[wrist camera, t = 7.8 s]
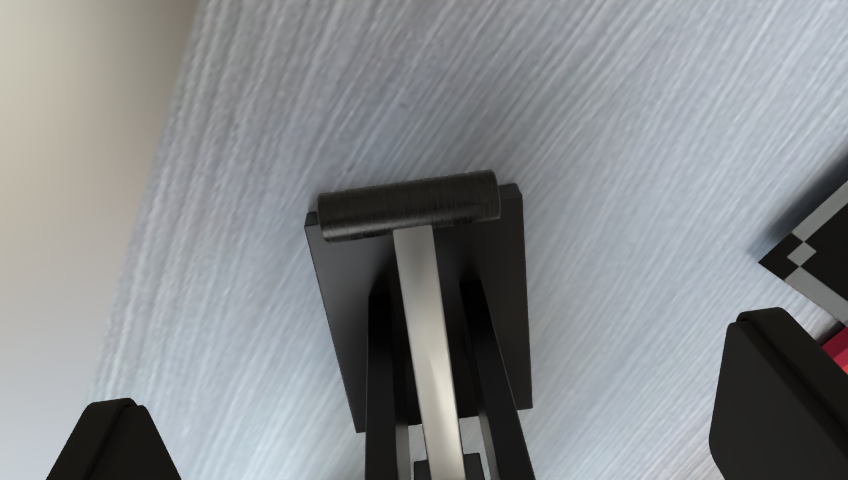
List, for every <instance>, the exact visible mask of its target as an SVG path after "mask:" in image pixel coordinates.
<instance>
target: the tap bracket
mask: <svg viewBox="0 0 848 480" xmlns="http://www.w3.org/2000/svg"><path fill="white" fill-rule="evenodd" d="M498 190H499V197H500V218H499V219H498V220H491V221H484V222H477V223H470V224H463V225H456V226H449V227H442V228H435V229H432V232H433V239H434V247H435V254H436V261H437V268H438V275H439V282H440V290H441V297H442V304H443V311H444V318H445V325H446V333H447V340H448V347H449V354H450V361H451V369H452V376H453V383H454V390H455V397H456V404H457V412H458V419H460V418H468V417H475V416H479V421H480V426H481V431H482V436H483V441H484V446H485V451H486V456H487V461H488V466H489V471H490V476H491V480H536V479H535V475H534V472H533V468H532V464H531V461H530V457H529V453H528V450H527V446H526V442H525V439H524V435H523V431H522V428H521V424H520V420H519V417H518V413H517V410H524V409H531V408H533V403H532V382H531V362H530V342H529V322H528V301H527V281H526V261H525V241H524V220H523V200H522V194H521V192H520V190H519V188H518V186H517V184H509V185H502V186H498ZM304 228H305V232H306V236H307V240H308V244H309V248H310V252H311V256H312V260H313V264H314V268H315V272H316V276H317V280H318V283H319V287H320V291H321V295H322V299H323V303H324V307H325V311H326V315H327V319H328V323H329V327H330V331H331V335H332V339H333V343H334V347H335V351H336V355H337V359H338V363H339V367H340V371H341V375H342V379H343V383H344V387H345V391H346V395H347V398H348V402H349V406H350V410H351V414H352V418H353V422H354V426H355V430H356V433H362V432H366V441H365V480H411V468H410V451H409V435H408V426H411V425H418V424H422V421H421V414H420V408H419V401H418V394H417V388H416V381H415V375H414V368H413V362H412V355H411V349H410V342H409V336H408V329H407V322H406V316H405V309H404V303H403V296H402V290H401V283H400V277H399V270H398V263H397V257H396V250H395V244H394V237H393V235H386V236H379V237H372V238H365V239H358V240H351V241H344V242H337V243H330V244H327V243H325V241H324V239H323V237H322V234H321V230H320V226H319V220H318V212H313V213H307V216H306V221H305V225H304Z"/></svg>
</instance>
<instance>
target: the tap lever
mask: <svg viewBox="0 0 848 480" xmlns="http://www.w3.org/2000/svg"><path fill="white" fill-rule="evenodd" d="M317 212H318V220H319V226H320V230H321V234H322V237H323V239H324V241H325V243H327V244H330V243H337V242H344V241H351V240H358V239H365V238H372V237H379V236H386V235H393V237H394V244H395V250H396V257H397V263H398V270H399V277H400V283H401V290H402V296H403V303H404V309H405V316H406V322H407V329H408V336H409V342H410V349H411V355H412V362H413V368H414V375H415V381H416V388H417V394H418V401H419V408H420V414H421V421H422V427H423V434H424V440H425V447H426V453H427V460H422V461H415V462H414V480H485V477H484V472H483V468H482V463H481V458H480V454H479V453H471V454H464V455H463V447H462V440H461V433H460V426H459V419H458V412H457V404H456V397H455V390H454V383H453V376H452V369H451V361H450V354H449V347H448V340H447V333H446V325H445V318H444V311H443V304H442V297H441V290H440V282H439V275H438V268H437V261H436V254H435V247H434V239H433V232H432V229H435V228H442V227H449V226H456V225H463V224H470V223H477V222H484V221H491V220H498V219H499V218H500V197H499V190H498V184H497V179H496V176H495V173H494V171H493V170H491V169H490V170H483V171H476V172H469V173H462V174H455V175H448V176H441V177H434V178H427V179H420V180H413V181H406V182H399V183H392V184H385V185H378V186H371V187H363V188H356V189H349V190H342V191H335V192H328V193H321V194H319V195H318V198H317Z"/></svg>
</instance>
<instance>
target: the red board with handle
mask: <svg viewBox="0 0 848 480" xmlns="http://www.w3.org/2000/svg"><path fill="white" fill-rule="evenodd" d="M758 263H759V264H761V265H762V266H763V267H765V268H766V269H768V270H769V271H770V272H772V273H773V274H775V275H776V276H777V277H779V278H780V279H782V280H783V281H784V282H786V283H787V284H789V285H790V286H791V287H793V288H794V289H796V290H797V291H798V292H800V293H801V294H803V295H804V296H805V297H807V298H808V299H810V300H811V301H812V302H814V303H815V304H817V305H818V306H820V307H821V308H822V309H824V310H825V311H827V312H828V313H829V314H831V315H832V316H834V317H835V318H836V319H838V320H839V321H841V322H842V323H843V324H844V325H845V326H846V327H845V328H844V329H843V330H842V331H840V332H839V333H838V334H837V335H835V336H834V337H833V338H832V339H830V340H829V341H828V342H827V343H825V344H824V345H823V346H822V348H823V349H824V350H825V351H826V352H827V354H828V355H829V356H830V357H831V358H832V359H833V360H834V361H835V362H836V363H837V364H838V365H839V366H840V367H841V368H842V369H843V370H844V371H845V372H846V373H847V374H848V181H847V182H846V183H844V184H843V185H842V186H841V187H840V188H839V189H838V190H837V191H836V192H835V193H833V194H832V195H831V196H830V197H829V198H828V199H827V200H826V201H825V202H824V203H822V204H821V205H820V206H819V207H818V208H817V209H816V210H815V211H814V212H813V213H811V214H810V215H809V216H808V217H807V218H806V219H805V220H804V221H803V222H802V223H800V224H799V225H798V226H797V227H796V228H795V229H794V230H793V231H792V232H791V233H789V234H788V235H787V236H786V237H785V238H784V239H783V240H782V241H781V242H780V243H778V244H777V245H776V246H775V247H774V248H773V249H772V250H771V251H770V252H769V253H768V254H766V255H765V256H764V257H763V258H762V259H761V260H760V261H759V262H758Z"/></svg>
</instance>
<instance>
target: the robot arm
mask: <svg viewBox="0 0 848 480" xmlns="http://www.w3.org/2000/svg"><path fill="white" fill-rule="evenodd" d="M709 447H710V452H711V455H712V457H713V459H714V461H715V463H716V465H717V467H718V469H719V470H720V472H721V474H722V475H723V477H724V479H725V480H848V374H847V373H846V372H845V371H844V370H843V369H842V368H841V367H840V366H839V365H838V364H837V363H836V362H835V361H834V360H833V359H832V358H831V357H830V356H829V355H828V354H827V352H826V351H825V350H824V349H823V348H822V347H821V346H820V345H819V344H818V343H817V342H816V341H815V340H814V339H813V338H812V337H811V336H810V335H809V334H808V333H807V332H806V331H805V330H804V329H803V328H802V327H801V325H800V324H799V323H798V322H797V321H796V320H795V319H794V318H793V317H792V316H791V315H790V314H789V313H788V312H787V311H785V310H784V309H783V308H780V307H774V308H767V309H760V310H753V311H746V312H742V313H740V314H739V315H738V317H737V320H736V322H734V323H730V324H729V325H728V328H727V332H726V338H725V344H724V350H723V356H722V362H721V368H720V374H719V380H718V386H717V392H716V398H715V404H714V410H713V416H712V422H711V428H710V434H709ZM46 480H181V478H180V475H179V473H178V471H177V469H176V467H175V465H174V463H173V461H172V459H171V457H170V455H169V453H168V451H167V449H166V447H165V445H164V443H163V441H162V439H161V436H160V434H159V432H158V430H157V428H156V426H155V424H154V422H153V420H152V418H151V416H150V414H149V412H148V410H147V409H146V407H145V406H143V405H139V406H137V404H136V403H135V402H134V400H132V399H131V398H122V399H115V400H108V401H100V402H93V403H91V404H89V405H88V406H87V407H86V409H85V410H84V411H83V413H82V415H81V417H80V419H79V421H78V422H77V424H76V426H75V428H74V430H73V431H72V433H71V435H70V437H69V439H68V440H67V442H66V444H65V446H64V448H63V450H62V451H61V453H60V455H59V457H58V459H57V460H56V462H55V464H54V466H53V468H52V469H51V471H50V473H49V475H48V477H47V479H46Z"/></svg>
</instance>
